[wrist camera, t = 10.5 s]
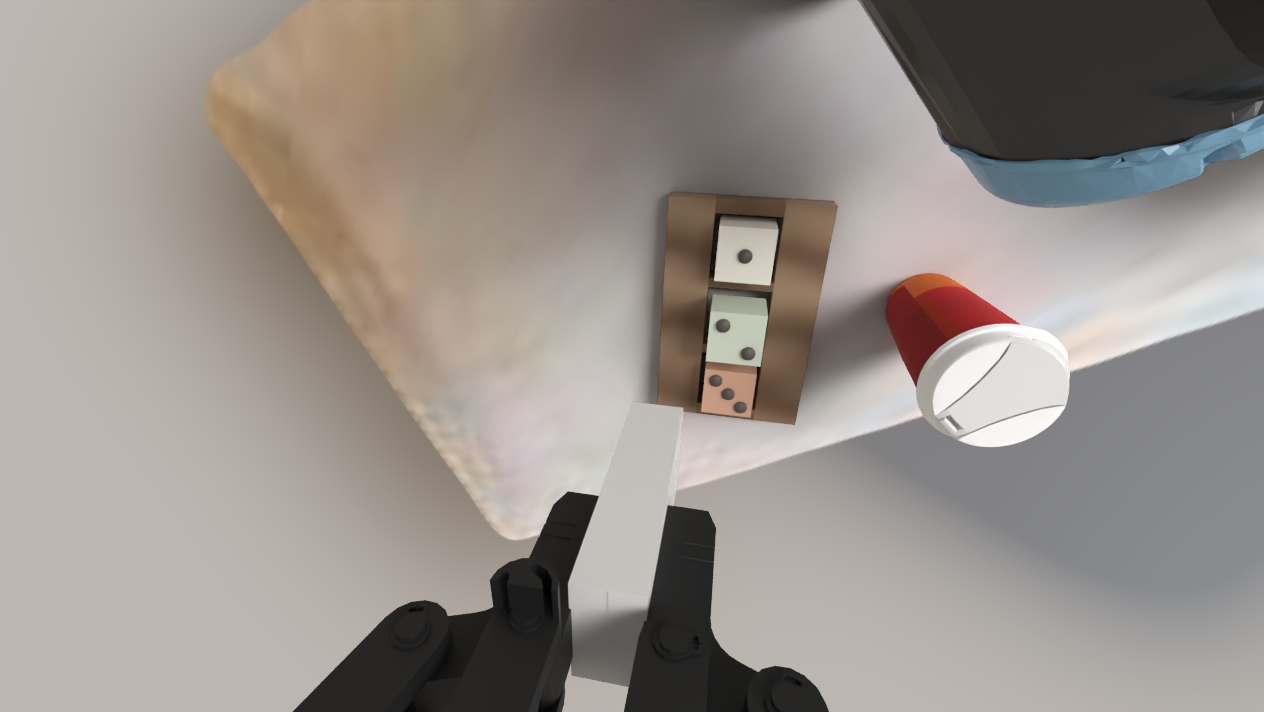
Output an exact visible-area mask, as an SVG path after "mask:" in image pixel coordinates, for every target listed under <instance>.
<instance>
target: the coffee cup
mask: <svg viewBox="0 0 1264 712" xmlns="http://www.w3.org/2000/svg"><path fill="white" fill-rule="evenodd" d="M886 319H887V322H888V325H889V328H890V330H891V333H892V335H893V337H894V339H895V342H896V344H897V347H898V349H899V352H900V354H901V357H902V359H903V361H904V363H905V365H906V367H907V369H908V371H909V373H910V375H911V377H912V379H913V382H914V384H915V386H916V388H917V389H916V394H917V402H918V405H919V408H920V410H921V412H922V414H923V416H924V417H925V418H926V420H927V421H928V422H929V423H930V424H931V425H932V426H933V427H934V428H935V429H937V430H939V431H940V432H942V433H944V434H946V435H948V436H951V437H953V438H955V439H956V440H959V441H961V442H963V443H967V444H971V445H975V446H983V447H998V446H1006V445H1011V444H1015V443H1018V442H1021V441H1024V440H1027V439H1029V438H1030V437H1033V436H1035V435H1037V434H1038V433H1040V432H1042V431H1043V430H1045V429H1046V428H1047V427H1049V426H1050V425H1051V424H1052V423H1053V422H1054V421H1055V420H1056V419H1057V418H1058V417H1059V415H1060V414H1061V412H1062V411H1063V410H1064V408H1065V405H1066V402H1067V398H1068V393H1069V378H1070V369H1069V363H1068V357H1067V351H1066V349H1065V348H1064V346H1063V345H1062V344H1061V343H1060V342H1059V341H1058V340H1057V339H1056V338H1055V337H1054V336H1053V335H1051V334H1050V333H1048V332H1047V331H1045V330H1041V329H1036V328H1031V327H1027V326H1023V325H1020V324H1019V323H1017V322H1016V321H1014V320H1013V319H1012V318H1010V317H1009V316H1007V315H1006V314H1004V313H1003V312H1001V311H1000V310H998V309H997V308H995V307H994V306H992V305H991V304H989V303H988V302H986V301H985V300H983V299H982V298H980V297H979V296H977V295H976V294H974V293H973V292H971V291H970V290H968V289H967V288H965V287H963V286H962V285H960V284H959V283H957V282H955V281H954V280H952V279H950V278H948V277H946V276H943V275H939V274H932V273H927V274H920V275H916V276H913V277H911V278H909V279H907V280H905V281H904V282H902V283H901V284H899V285H898V286H897V287H896V288H895V289H894V291H893V292H892V293H891V295H890V297H889V299H888V301H887V304H886Z"/></svg>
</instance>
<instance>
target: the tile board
mask: <svg viewBox="0 0 1264 712" xmlns="http://www.w3.org/2000/svg"><path fill="white" fill-rule="evenodd" d="M837 207H838V206H837V205H836V203H835V202H834V201H821V200H803V199H786V198H769V197H751V196H734V195H717V194H699V193H682V192H671V193H670V195H669V196H668V213H667V232H666V250H665V268H664V286H663V305H662V323H661V341H660V360H659V378H658V396H657V405H664V406H673V407H681V408H683V411H685V412H693V413H701V414H710V415H718V416H726V417H734V418H742V419H751V420H759V421H767V422H775V423H784V424H792V425H795V421H796V416H797V411H798V406H799V401H800V396H801V391H802V386H803V380H804V375H805V370H806V365H807V360H808V355H809V350H810V345H811V340H812V335H813V329H814V324H815V319H816V314H817V309H818V304H819V299H820V294H821V289H822V284H823V278H824V273H825V268H826V263H827V258H828V253H829V248H830V243H831V238H832V233H833V227H834V222H835V217H836V212H837ZM716 213H724V214H740V215H756V216H772V217H782V220H781V226H780V233H779V240H778V246H777V253H776V259H775V266H774V273H773V276H772V277H771V284H770V286H769V285H757V284H745V283H733V282H721V281H714V276H715V271H710V266H711V256H712V245H713V235H714V224H715V214H716ZM708 287H716V288H728V289H740V290H752V291H763V292H771V293H770V299H769V306H768V320H767V327H766V333H765V340H764V347H763V353H762V360H761V366H760V367H759V372H758V379H757V385H756V392H755V399H753V404H752V410H751V417H750V418H748V417H740V416H732V415H723V414H715V413H707V412H701V407H702V397H703V393H699V382H700V372H701V361H702V352H706V353H707V343H708V336H707V335H704V330H705V319H706V308H707V298H708Z"/></svg>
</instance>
